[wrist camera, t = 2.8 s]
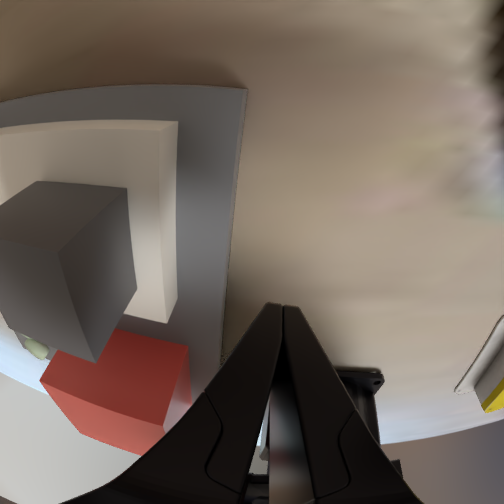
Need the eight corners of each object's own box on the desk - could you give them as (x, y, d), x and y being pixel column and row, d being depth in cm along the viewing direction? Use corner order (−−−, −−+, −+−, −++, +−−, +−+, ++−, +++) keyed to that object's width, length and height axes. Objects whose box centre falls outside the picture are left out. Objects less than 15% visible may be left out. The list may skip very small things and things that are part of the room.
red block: (188, 345, 15) (162, 426, 11) (192, 404, 19) (176, 465, 15) (78, 317, 15) (39, 380, 11) (104, 380, 19) (80, 433, 15)
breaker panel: (247, 88, 9) (234, 93, 7) (217, 395, 20) (210, 429, 17) (-36, 112, 10) (-69, 126, 7) (30, 338, 20) (14, 361, 18)
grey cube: (126, 188, 9) (57, 252, 6) (137, 288, 11) (95, 363, 8) (37, 180, 9) (-33, 230, 6) (56, 269, 11) (8, 327, 8)
